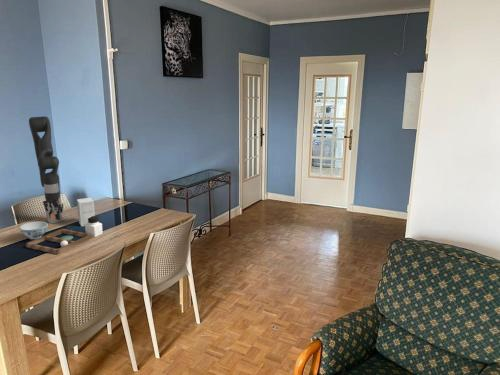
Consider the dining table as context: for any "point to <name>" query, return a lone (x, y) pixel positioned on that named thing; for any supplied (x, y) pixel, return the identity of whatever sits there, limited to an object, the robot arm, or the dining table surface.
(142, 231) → the dining table surface
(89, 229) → the medicine bottle
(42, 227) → the chinaware
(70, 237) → the felt pad
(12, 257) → the dining table surface
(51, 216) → the terracotta ball
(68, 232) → the dark wooden tray
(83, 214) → the supplement box
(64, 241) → the off-white ball
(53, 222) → the robot arm
